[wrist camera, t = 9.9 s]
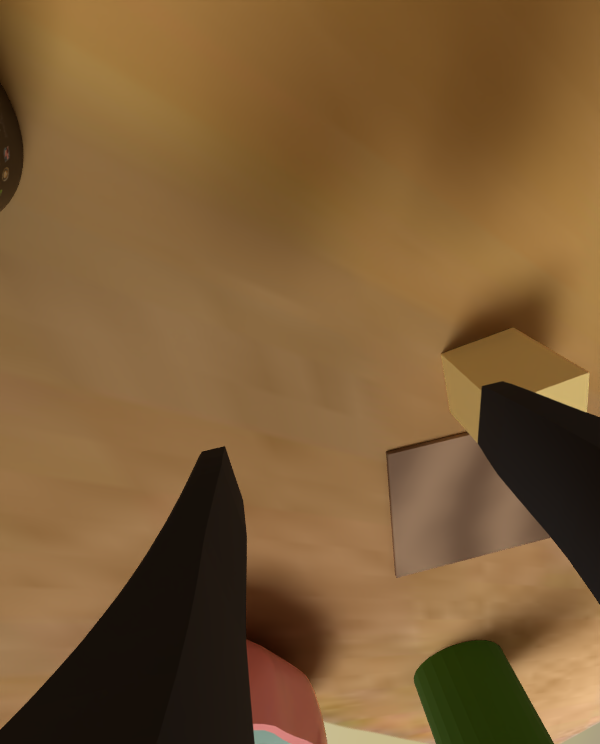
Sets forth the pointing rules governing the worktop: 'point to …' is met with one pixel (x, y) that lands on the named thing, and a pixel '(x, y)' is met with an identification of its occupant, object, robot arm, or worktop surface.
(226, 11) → the worktop surface
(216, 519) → the robot arm
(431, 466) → the walnut base
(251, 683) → the cell model
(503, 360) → the ochre block
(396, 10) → the worktop surface
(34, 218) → the worktop surface
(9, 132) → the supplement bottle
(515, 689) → the wine bottle
